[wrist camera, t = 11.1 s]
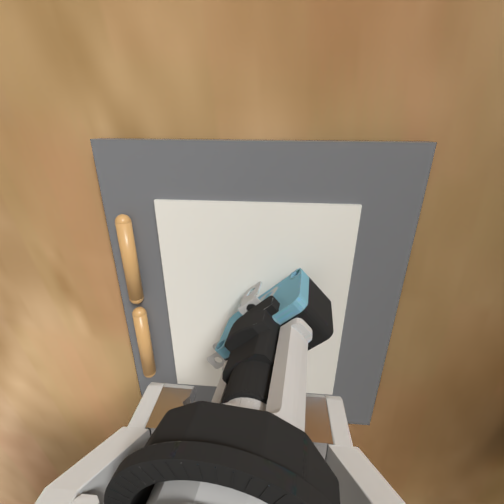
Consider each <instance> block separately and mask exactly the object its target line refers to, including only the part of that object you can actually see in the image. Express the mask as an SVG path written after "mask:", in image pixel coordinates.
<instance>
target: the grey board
mask: <svg viewBox="0 0 504 504" xmlns="http://www.w3.org/2000/svg"><path fill="white" fill-rule="evenodd" d="M90 141H91V146H92V151H93V156H94V161H95V166H96V171H97V176H98V181H99V186H100V191H101V196H102V201H103V206H104V211H105V216H106V221H107V226H108V231H109V236H110V241H111V246H112V251H113V256H114V261H115V266H116V271H117V276H118V281H119V286H120V291H121V296H122V301H123V305H124V310H125V315H126V320H127V325H128V330H129V335H130V340H131V345H132V350H133V355H134V360H135V365H136V370H137V375H138V380H139V385H140V390H141V395H142V396H143V394H144V392H145V390H146V388H147V386H148V385H149V384H150V383H151V382H156V383H168V384H178V385H187V386H195V387H196V393H197V394H196V398H195V401H196V402H197V401H207V402H211V401H212V398H213V396H214V393H215V390H216V388H217V385H218V383H219V380H220V377H221V375H222V367H223V366H222V367H221V368H219V369H215V368H214V367H213V366H212V365H211V364H210V363H209V362H208V361H207V357H209V356H210V355H212V354H213V353H215V352H216V351H215V350H214V349H213V345H214V344H215V343H217V342H218V341H220V338H221V336H222V334H223V332H224V329H225V327H226V325H227V323H228V321H229V319H230V318H231V317H232V316H233V315H234V314H235V313H236V312H238V308H239V307H240V302H241V300H242V298H243V295H244V293H245V292H246V291H247V290H248V289H249V288H251V287H252V286H254V285H255V284H256V283H258V282H259V281H261V282H262V284H261V287H260V290H259V293H258V295H256V296H257V297H259V296H261V295H262V294H264V293H265V292H266V291H268V290H269V289H271V288H272V287H274V286H275V285H276V284H278V283H279V282H281V281H282V280H284V279H285V278H286V277H288V276H289V275H290V274H291V273H292V272H294V271H295V270H297V269H298V268H301V269H302V270H303V271H304V272H305V273H306V274H307V275H308V276H309V277H310V279H311V280H312V281H313V282H314V283H315V284H316V285H317V286H318V287H319V289H320V290H321V291H322V292H323V293H324V294H325V295H326V296H327V298H328V299H329V300H330V301H331V306H332V318H333V330H334V331H333V335H332V336H331V337H330V338H329V339H328V340H326V341H324V342H323V343H321V344H319V345H317V346H315V347H314V348H312V349H310V350H308V357H307V383H306V394H317V395H324V396H325V395H328V396H340V397H341V398H342V400H343V404H344V409H345V413H346V418H347V422H348V423H349V424H362V425H370V421H371V416H372V412H373V408H374V404H375V400H376V395H377V391H378V387H379V383H380V379H381V374H382V370H383V366H384V362H385V358H386V353H387V349H388V345H389V341H390V337H391V333H392V328H393V324H394V320H395V316H396V312H397V307H398V303H399V299H400V295H401V291H402V286H403V282H404V278H405V274H406V270H407V266H408V261H409V257H410V253H411V249H412V245H413V240H414V236H415V232H416V228H417V224H418V219H419V215H420V211H421V207H422V203H423V199H424V194H425V190H426V186H427V182H428V178H429V173H430V169H431V165H432V161H433V157H434V152H435V148H436V144H437V142H429V141H334V140H228V139H123V138H97V139H90ZM253 291H254V290H252V291H251V292H250V293H249V295H250V294H251V293H252V292H253ZM214 359H215V361H216V362H219V363H220V362H222V359H221V358H219V357H215V358H214Z"/></svg>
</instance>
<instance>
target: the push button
mask: <svg viewBox="0 0 504 504" xmlns="http://www.w3.org/2000/svg"><path fill="white" fill-rule="evenodd" d="M261 284H262V282H261V281H259V282H258V283H256V284H255V285H254V286H252V287H251V288H249V289H248V290H247V291H246V292H245V293H244V295H243V298H242V300H241V302H240V307H239V308H238V312H236V313H235V314H234V315H233V316H232V317H231V318H230V319H229V321H228V323H227V325H226V327H225V329H224V332H223V334H222V336H221V338H220V341H218V342H217V343H215V344H214V345H213V349H214V350H215V351H216V352H215V353H213V354H212V355H210V356H209V357H207V361H208V362H209V363H210V364H211V365H212V366H213V367H214V368H215V369H219V368H221V367H222V366H223V367H222V375H221V377H220V380H219V383H218V385H217V388H216V390H215V393H214V396H213V398H212V401H211V402H207V401H197V402H194V403H190V404H187V405H183V406H180V407H176V408H173V409H170V410H169V411H167V413H166V414H165V415H164V417H163V418H162V420H161V421H160V423H159V424H158V426H157V427H156V429H155V430H154V432H153V434H152V435H151V437H150V438H149V440H148V441H147V443H146V444H145V446H144V447H143V448H141V449H138V450H136V451H135V452H133V453H131V454H130V455H129V456H127V457H126V458H125V459H124V460H123V461H122V462H121V463H120V465H119V466H118V468H117V470H116V471H115V473H114V475H113V477H112V478H111V480H110V482H109V484H108V486H107V487H106V490H105V494H104V504H340V490H339V481H338V479H337V477H336V476H335V474H334V473H333V471H332V470H331V468H330V467H329V465H328V464H327V462H326V461H325V460H324V458H323V457H322V455H321V454H320V452H319V451H318V449H317V448H316V446H315V445H314V443H313V442H312V440H311V439H310V438H309V436H308V435H307V434H306V433H305V409H306V383H307V357H308V350H310V349H312V348H314V347H315V346H317V345H319V344H321V343H323V342H324V341H326V340H328V339H329V338H330V337H331V336H332V335H333V331H334V330H333V318H332V306H331V301H330V300H329V299H328V298H327V296H326V295H325V294H324V293H323V292H322V291H321V290H320V289H319V287H318V286H317V285H316V284H315V283H314V282H313V281H312V280H311V279H310V277H309V276H308V275H307V274H306V273H305V272H304V271H303V270H302V269H301V268H298V269H297V270H295V271H294V272H292V273H291V274H290V275H289V276H288V277H286V278H285V279H284V280H282V281H281V282H279V283H278V284H276V285H275V286H274V287H272V288H271V289H269V290H268V291H266V292H265V293H264V294H262V295H261V296H259V297H257V296H256V295H258V293H259V290H260V287H261ZM252 290H254V291H253V292H252V293H251V294H250V295H249V293H250V292H251V291H252ZM215 357H219V358H221V359H222V362H220V363H219V362H216V361H215V359H214V358H215Z"/></svg>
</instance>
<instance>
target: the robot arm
mask: <svg viewBox="0 0 504 504" xmlns="http://www.w3.org/2000/svg"><path fill="white" fill-rule="evenodd" d="M196 394H197V393H196V387H195V386H187V385H178V384H168V383H156V382H151V383H150V384H149V385H148V386H147V388H146V390H145V392H144V394H143V396H142V398H141V400H140V402H139V404H138V406H137V408H136V410H135V412H134V414H133V416H132V418H131V420H130V422H129V424H128V426H127V427H121V428H120V429H119V430H118V431H116V432H115V433H114V434H113V435H111V436H110V437H109V438H107V439H106V440H105V441H104V442H102V443H101V444H100V445H99V446H97V447H96V448H95V449H93V450H92V451H91V452H90V453H88V454H87V455H86V456H85V457H83V458H82V459H81V460H80V461H78V462H77V463H76V464H74V465H73V466H72V467H71V468H69V469H68V470H67V471H66V472H64V473H63V474H62V475H60V476H59V477H58V478H57V479H55V480H54V481H53V482H52V483H50V484H49V485H48V486H46V487H45V488H44V490H43V491H42V493H41V494H40V496H39V498H38V499H37V501H36V502H35V504H104V494H105V490H106V487H107V486H108V484H109V482H110V480H111V478H112V477H113V475H114V473H115V471H116V470H117V468H118V466H119V465H120V463H121V462H122V461H123V460H124V459H125V458H126V457H127V456H129V455H130V454H131V453H133V452H135V451H136V450H138V449H141V448H143V447H144V446H145V444H146V443H147V441H148V440H149V438H150V437H151V435H152V434H153V432H154V430H155V429H156V427H157V426H158V424H159V423H160V421H161V420H162V418H163V417H164V415H165V414H166V413H167V411H169V410H170V409H173V408H176V407H180V406H183V405H187V404H190V403H194V402H196V401H195V398H196ZM305 433H306V434H307V435H308V436H309V438H310V439H311V440H312V442H313V443H314V445H315V446H316V448H317V449H318V451H319V452H320V454H321V455H322V457H323V458H324V460H325V461H326V462H327V464H328V465H329V467H330V468H331V470H332V471H333V473H334V474H335V476H336V477H337V479H338V481H339V490H340V504H406V503H405V502H404V501H403V500H402V498H401V497H400V496H399V495H398V494H397V493H396V491H395V490H394V489H393V488H392V487H391V485H390V484H389V483H388V482H387V481H386V479H385V478H384V477H383V476H382V475H381V474H380V472H379V471H378V470H377V469H376V468H375V466H374V465H373V464H372V463H371V462H370V461H369V459H368V458H367V457H366V456H365V455H364V453H363V452H362V451H361V450H360V449H359V447H354V446H353V444H352V439H351V435H350V431H349V426H348V422H347V418H346V413H345V409H344V404H343V400H342V398H341V397H340V396H328V395H325V396H324V395H317V394H306V409H305Z"/></svg>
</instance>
